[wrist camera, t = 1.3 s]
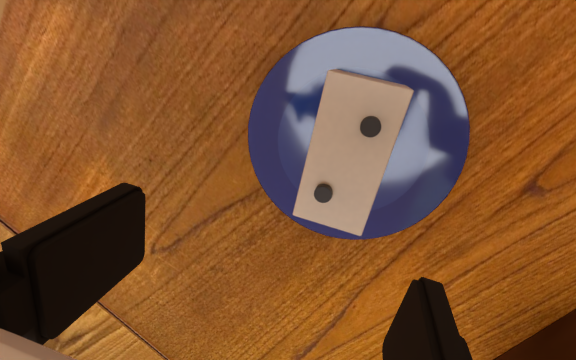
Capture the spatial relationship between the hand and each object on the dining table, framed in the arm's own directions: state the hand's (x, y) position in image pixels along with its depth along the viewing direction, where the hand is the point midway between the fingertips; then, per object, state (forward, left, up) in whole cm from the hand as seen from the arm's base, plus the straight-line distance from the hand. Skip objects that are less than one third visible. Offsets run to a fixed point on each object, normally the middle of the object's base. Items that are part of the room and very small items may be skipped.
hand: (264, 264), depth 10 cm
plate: (-2, +1, -15) cm, 16 cm away
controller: (-2, +1, -14) cm, 15 cm away
